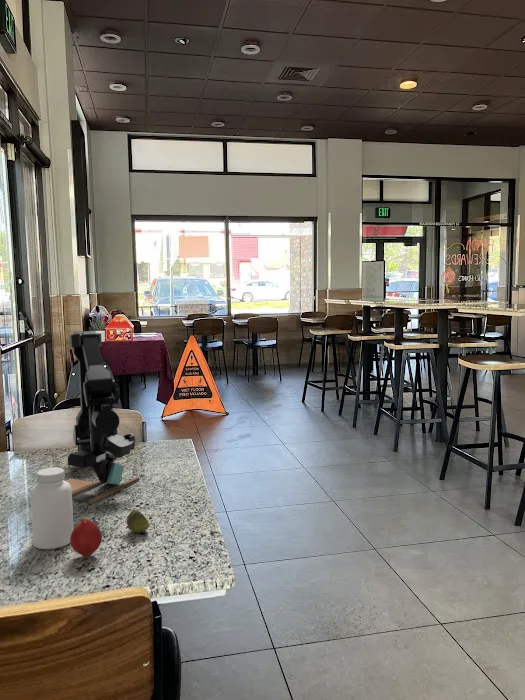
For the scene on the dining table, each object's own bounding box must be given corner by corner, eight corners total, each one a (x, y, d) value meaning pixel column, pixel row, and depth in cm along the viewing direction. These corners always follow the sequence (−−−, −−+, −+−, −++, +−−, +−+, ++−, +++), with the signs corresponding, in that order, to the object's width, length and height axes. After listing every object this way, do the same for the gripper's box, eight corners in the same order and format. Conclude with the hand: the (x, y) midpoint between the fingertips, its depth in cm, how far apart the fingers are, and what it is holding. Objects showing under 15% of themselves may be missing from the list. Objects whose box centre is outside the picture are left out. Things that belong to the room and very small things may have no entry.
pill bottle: (82, 536, 118) (78, 467, 116) (56, 553, 110) (52, 479, 108) (51, 531, 120) (47, 463, 119) (24, 547, 113) (19, 475, 111)
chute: (65, 498, 139) (65, 495, 139) (114, 476, 155) (114, 473, 155) (91, 503, 136) (91, 500, 135) (139, 480, 152) (139, 477, 151)
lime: (129, 527, 121) (128, 505, 121) (151, 527, 121) (151, 505, 121) (124, 536, 117) (123, 513, 117) (147, 536, 117) (146, 513, 116)
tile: (48, 490, 145) (47, 487, 145) (71, 481, 152) (71, 478, 152) (70, 495, 141) (70, 492, 141) (93, 485, 148) (93, 482, 148)
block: (98, 480, 147) (103, 461, 148) (107, 482, 150) (112, 464, 152) (110, 482, 145) (115, 463, 147) (119, 484, 149) (124, 466, 150)
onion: (75, 550, 111) (73, 511, 110) (105, 548, 112) (103, 510, 111) (68, 564, 105) (65, 524, 105) (99, 563, 106) (97, 522, 105)
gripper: (99, 436, 132) (102, 500, 134) (149, 419, 148) (151, 476, 150) (64, 431, 137) (67, 493, 139) (116, 416, 153) (119, 471, 155)
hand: (103, 483), depth 145 cm, fingers closed
